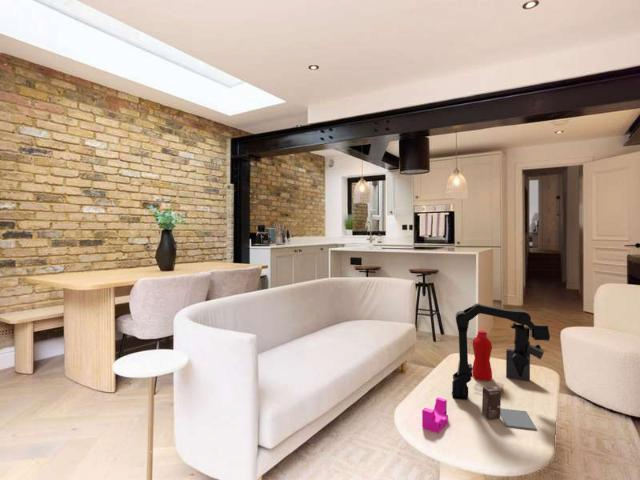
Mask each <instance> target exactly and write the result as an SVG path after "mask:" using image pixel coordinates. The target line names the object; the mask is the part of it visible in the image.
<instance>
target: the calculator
mask: <svg viewBox="0 0 640 480" xmlns="http://www.w3.org/2000/svg"><path fill="white" fill-rule="evenodd" d="M505 351H506V359H505V360H506V361H505V365H506V366H505V367H506V368H505V371H506V373H505V377H506V379H512V380H518V381H524V382H525V381H526V382H530V381H531V354H530V355H529V365H527V366H525V367H524V371H523V375H522V377H519V375H518V372H517V370H516V368H515V365H514V363H513V355H514V349H513V348H506V350H505Z"/></svg>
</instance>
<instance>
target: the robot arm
mask: <svg viewBox="0 0 640 480" xmlns="http://www.w3.org/2000/svg"><path fill="white" fill-rule="evenodd" d="M480 314H481V315H487V316H491V317H497V318H502V319H506V320H508V321H509V320H510V321H512V322H513V323H511V324H510V325H509V328H511V329H514V340H513V341H514V342H513V344H514V345H513V346H514V347H513V348H514V355H513V363H514V365H515V368H516V370H517V372H518V375H519V377H522V375H523V371H524V367H525V366H527V365H529V355H530V356H531V355H532V356H533V357H536V358H537V359H538V360H541V359H542V358H543V355H544V354H545V350H544V349H542V347H541V346H542V345H540V344H538V343H537V344H535V345H533V344H531V342H530V338H532V339H533V341H540V342H541V341H542V342H543V341H544V342H549V341H550V337H551V336H550V335H551V334H550V331H549V326H548V324H542V325H541V324H535V323H534V322H533V321H532V317H531V315H530V314H529V313H528V312H527V311H526V310H525V309H521V308H520V309H517V308H515V309H514V308H513V309H505V308H501V307H495V306H489V305H485V304H481V303H479V302H478V303H475V304H473V305H472V306H469V307H468V308H466V309H464V310H460V311H457V312H456V314H455V316H454V317H455V323H456V326H457V332H458V352H459V355H458V356H459V361H458V366H457V371H456V372H455V373H453V375H452V383H451V385H452V386H451V389H452V390H451V396H452V399H456V400H457V399H458V400H468V399H469V387H468V383H469V382H470V381H471V380H472V378H474V377H473V374H472V367H473V365H472V363H469V359H468V356H469V354H468V353H469V352H468V351H469V350H468V329H469V324H470V321H471V320H473V319H475V318H476V317H477V316H479V315H480Z"/></svg>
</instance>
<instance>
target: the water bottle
mask: <svg viewBox="0 0 640 480" xmlns="http://www.w3.org/2000/svg"><path fill="white" fill-rule="evenodd" d="M487 335H488V332H487V331H486V330H479V331H477V334H476V337H474V338H473V340H472V341H471V343H470V345H469V347H471V344H472V351H473V352H472V354H471V353H470V351H471V348H469V349H468V351H469V352H468V353H469V354H471V355H474V359H473V365H472V375H473V377H472V378H473V379H475V380H476V381H483V380H486V381H485V382H489V381H492V378H493V370H492V366H491V354H492V350H493V346H492V345H493V344H492V341H491V340H490V338H488V337H487Z"/></svg>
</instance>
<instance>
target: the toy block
mask: <svg viewBox="0 0 640 480" xmlns="http://www.w3.org/2000/svg"><path fill="white" fill-rule="evenodd" d="M447 403H448V402H447V399H446V398H442V397H437V398H435V404H434V407H433V408H434V409H432V408H428V407H424V408H423V409H421V411H422V412H421V420H422V421H421V422H422V423H421V424H422V425H421V426H422V427H423V429H425V428H426V429H425V430H427V429H428V431H430V430H431V431H430V432H433V433H435V432H436V434H438V433H440V432H441V431H442V430H443V428H445V426H447V424H448V423H449V415H448V414H447V409H448V408H447V407H448V405H447Z"/></svg>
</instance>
